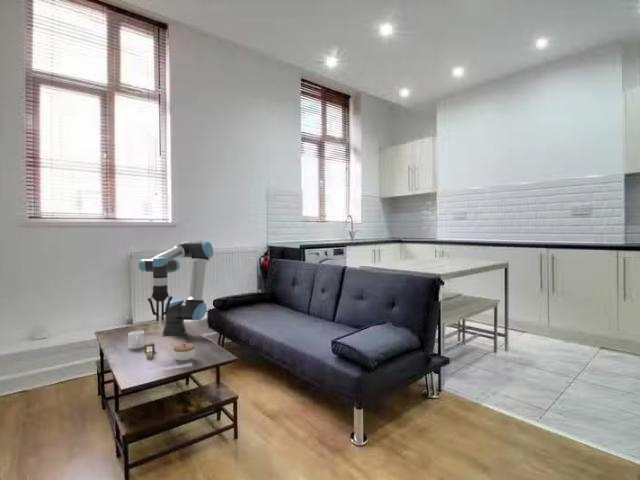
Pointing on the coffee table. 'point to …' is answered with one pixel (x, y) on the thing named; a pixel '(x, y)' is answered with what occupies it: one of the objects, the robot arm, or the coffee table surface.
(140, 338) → the mug
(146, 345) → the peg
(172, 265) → the robot arm
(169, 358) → the coffee table surface
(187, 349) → the lidded jar
